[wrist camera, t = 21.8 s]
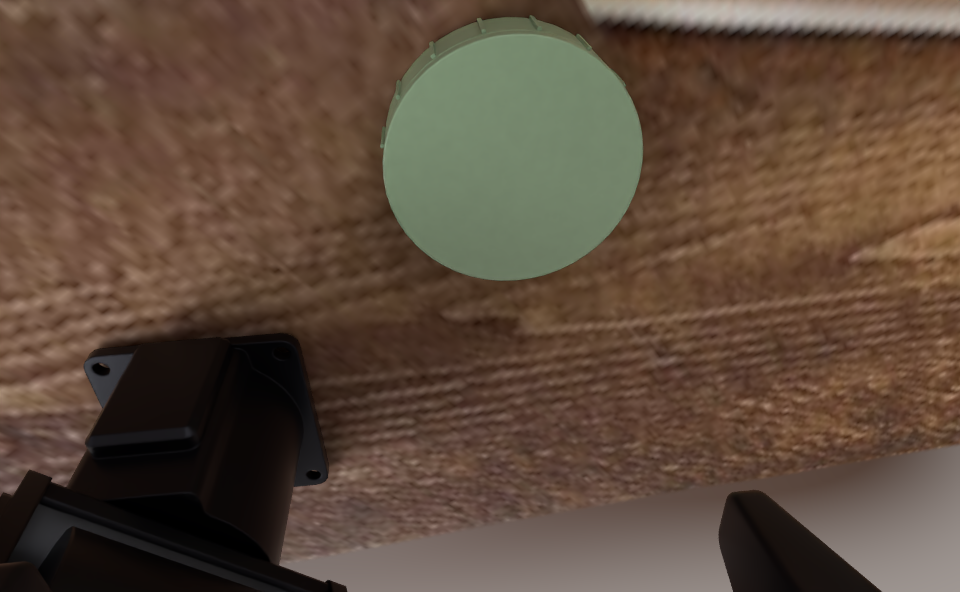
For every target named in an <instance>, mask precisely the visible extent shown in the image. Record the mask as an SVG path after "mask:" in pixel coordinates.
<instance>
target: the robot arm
mask: <svg viewBox="0 0 960 592" xmlns="http://www.w3.org/2000/svg"><path fill="white" fill-rule="evenodd" d="M279 347H283V348H286V349H288V350H289V352H280V351H279V350H277V348H279ZM99 363H103V364H105V365H107V366H108V367H109V368H107V367H103V366H101V365H100V364H99ZM84 370H85V373H86V375H87V377H88V379H89V381H90V383H91V385H92V387H93V390H94V392H95V394H96V396H97V398H98V400H99V402H100V404H101V406H102V408H103V410H102V411H101V413H100V415H99V417H98V419H97V420H96V422H95V424H94V426H93V428H92V429H91V431H90V433H89V435H88V437H87V439H86V442H85V445H86V447H87V450H86V452H85V454H84V456H83V457H82V459H81V461H80V463H79V465H78V467H77V469H76V470H75V472H74V474H73V476H72V478H71V480H70V481H69V483H68V485H67V487H63V486H61V485H58V484H55V483H52V482H51V480H52V478H51V477H48V476H46V475H43V474H40V473H38V472H35V471H32V470H29V471H28V473H27V474H26V476H25V477H24V479H23V480H22V482H21V484H20V485H19V487H18V488H17V490H16V492H15V493H14V495H13V496H12V495H9V494H6V493H3V494H2V495H1V497H0V592H347V588H346V586H344V585H341V584H338V583H336V582H333V581H330V580H327V581H326V582H322V581H320V580H317V579H314V578H312V577H309V576H306V575H303V574H301V573H298V572H295V571H293V570H290V569H287V568H284V567H282V566H279V562H280V557H281V551H282V546H283V541H284V535H285V530H286V524H287V519H288V514H289V508H290V503H291V498H292V492H293V487H297V486H307V485H317V484H321V483H323V482H325V481H326V479H327V478H328V472H329V463H328V459H327V455H326V451H325V447H324V442H323V438H322V434H321V430H320V426H319V422H318V418H317V413H316V409H315V405H314V401H313V397H312V393H311V389H310V384H309V380H308V376H307V372H306V368H305V364H304V360H303V355H302V351H301V347H300V344H299V342H298V340H297V339H296V338H295V337H294V336H292V335H289V334H284V333H278V334H266V335H254V336H243V337H231V338H221V337H216V338H204V339H192V340H181V341H169V342H157V343H145V344H141V345H137V346H125V347H114V348H102V349H97V350H94V351H93V352H92V353H90V355H89V356H88V358H87V360H86V361H85V364H84ZM311 470H317V472H316V471H311ZM719 544H720V549H721V553H722V556H723V559H724V562H725V566H726V569H727V573H728V576H729V579H730V582H731V586H732V589H733V592H881V591H880V590H879V589H878V588H877V587H876V586H875V585H873V584H872V583H871V582H870V581H869V580H867V579H866V578H865V577H864V576H863V575H861V574H860V573H859V572H858V571H857V570H855V569H854V568H853V567H852V566H851V565H849V564H848V563H847V562H846V561H845V560H844V559H842V558H841V557H840V556H839V555H838V554H836V553H835V552H834V551H833V550H832V549H831V548H829V547H828V546H827V545H826V544H825V543H823V542H822V541H821V540H820V539H819V538H817V537H816V536H815V535H814V534H813V533H811V532H810V531H809V530H808V529H807V528H806V527H804V526H803V525H802V524H801V523H800V522H798V521H797V520H796V519H795V518H793V517H792V516H791V515H790V514H789V513H788V512H787V511H785V510H784V509H783V508H782V507H781V506H779V505H778V504H777V503H776V502H775V501H773V500H772V499H771V498H770V497H769V496H767V495H766V494H765V493H763V492H761V491H758V490H750V491H739V492H732V493H731V494H729V495H728V497H727V499H726V503H725V507H724V511H723V515H722V519H721V524H720V528H719Z"/></svg>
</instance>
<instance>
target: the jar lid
mask: <svg viewBox="0 0 960 592" xmlns="http://www.w3.org/2000/svg"><path fill="white" fill-rule="evenodd" d="M429 46H430V47H429V48H428V49H426V50H425V51H424V52H423V53H422V54H421V55H420V56H419V57H418V58H417V59H416V60H415V62H414V63H413V64H412V65H411V67H410V68H409V69H408V71H407V72H406V73H405V75H404V76H403V78H402V80H401V81H400V80H397V82H396V91H395V94H394V96H393V99H392V102H391V104H390V108H389V112H388V116H387V121H386V127H382V137H381V146H380V148H384V152H383V179H384V184H385V189H386V195H387V197H388V200H389V203H390V206H391V209H392V211H393V213H394V215H395V217H396V219H397V221H398V223H399V224H400V226H401V227H402V229H403V230H404V231H405V233H406V234H407V236H408V237H409V238H410V239H411V240H412V241H413V242H414V243H415V245H416V246H417V247H419V248H420V249H421V250H422V251H423V252H424V253H426V254H427V255H428V256H429V257H431V258H432V259H434V260H435V261H437V262H438V263H440V264H441V265H444V266H446V267H448V268H450V269H452V270H454V271H456V272H459V273H462V274H465V275H468V276H471V277H476V278H481V279H487V280H497V281H515V280H523V279H530V278H535V277H539V276H543V275H546V274H549V273H552V272H555V271H557V270H560V269H562V268H564V267H566V266H568V265H570V264H572V263H574V262H576V261H577V260H579V259H581V258H582V257H584V256H585V255H587V254H588V253H589V252H591V251H592V250H593V249H594V248H596V247H597V246H598V245H599V244H600V243H601V242H602V241H603V240H604V239H605V238H606V237H607V236H608V235H609V234H610V233H611V232H612V231H613V229H614V228H615V227H616V226H617V224H618V223H619V222H620V220H621V219H622V217H623V215H624V214H625V212H626V211H627V209H628V207H629V205H630V203H631V201H632V198H633V196H634V194H635V191H636V188H637V185H638V182H639V178H640V173H641V167H642V161H643V140H642V130H641V126H640V121H639V117H638V114H637V111H636V109H635V106H634V104H633V101H632V99H631V97H630V95H629V94H628V92H627V90H626V89H625V86H626V84H625V82H624V81H623V80H622V79H621V78H620V77H619V76H618V75H617V74H616V73H615V72H614V71H613V69H610V68H609V67H608V66H607V65H606V64H605V63H604V61H603V60H602V59H601V58H600V57H599V56H598V55H597V54H596V53H595V52H594V51H593V50H592V49H591V48H592V47H591V46H590V45H589V44H588V43H587V42H586V41H585V40H584V39H583V37H582V36H581V35H579V34H577V35H576V36H574V35H573V34H571V33H570V32H568V31H566V30H564V29H562V28H560V27H558V26H555V25H552V24H549V23H546V22H543V21H540V20H536V18H535V17H534V16H531V15H530V16H529V19H528V18H521V17H502V18H494V19H487V20H483V21H482V19H481V18H477V22H475V23H471V24H469V25H466V26H464V27H461V28H459V29H457V30H454V31H453V32H451V33H449V34H448V35H446V36H444V37H442V38H441V39H439V40H438V41H437V42H435V43H434V42H433V41H431V42H430V43H429Z"/></svg>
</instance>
